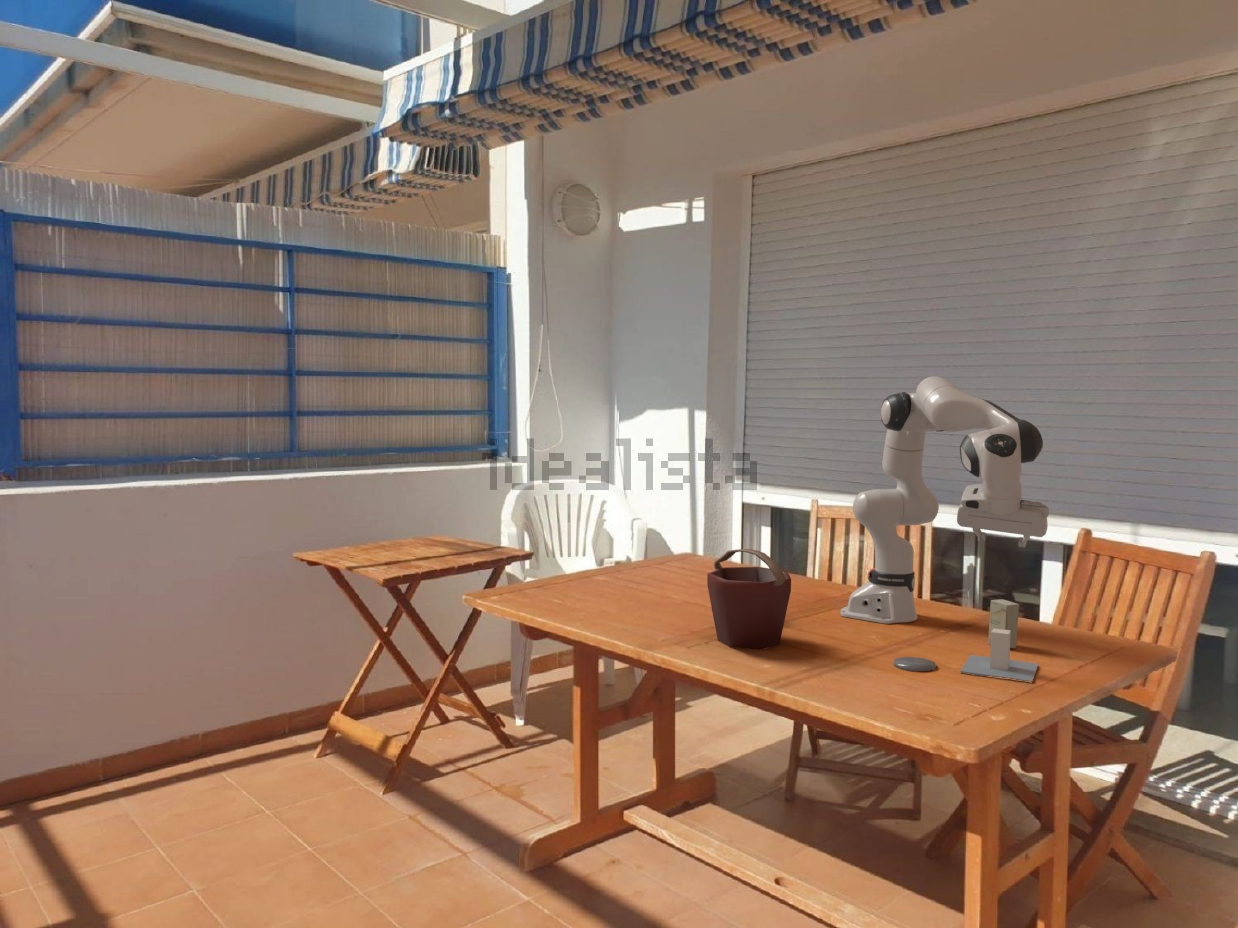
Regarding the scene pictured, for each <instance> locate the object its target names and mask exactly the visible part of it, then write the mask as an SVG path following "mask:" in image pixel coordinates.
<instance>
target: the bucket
mask: <svg viewBox="0 0 1238 928" xmlns="http://www.w3.org/2000/svg"><path fill="white" fill-rule="evenodd" d="M741 552H742V553H747V554H751V555H754V556H755V557H757V558H759V559H760V560H761V561H762V562H763V563H764V564H765V565H766V566H767V567H763V566H739V567H737V566H735V567H733V566H730V567H727V566H726V567H725V566H724V567H723V566H722V565H721V563H723V562H726V561H728V560H729V559H730V558H732V557H733V556H734V555H735V554H736V553H741ZM713 566H714V567H713V568H714V569H715V570H713V571H711V572H708V573H707V575H706V576H707V578H706V579H707V583H706V585H707V591H708V595H709V600H710V602H709V603H710V605H711V612H712V617H713V622H714V628H715V633H716V639H717V641H718V642H719V643H721V644H723V645H724V646H727V647H729V648H732V649H740V648H741V650H752V651H753V650H754V651H761V650H766V649H771V648H775V647H780V644H781V641H782V640H781V639H782V635H783V630H784V627H785V626H784V625H785V620H786V616H787V611H788V606H789V600H790V597H791V591H792V578H791V576H790V573H789V571H786V570H782V569H781V567H780V566H779V564H778V563H777V562H775V560H774V559H772V558H771V557H770V556H769V555H768V554H766V553H765V552H762V551H760V550H757V549H752V548H740V549H730V550H727V551H726V552H724V554H722V555H721V556H720V557H719V558H717V559H716V560H715V561H714V563H713ZM765 648H766V649H765Z"/></svg>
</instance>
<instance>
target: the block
mask: <svg viewBox="0 0 1238 928" xmlns="http://www.w3.org/2000/svg"><path fill="white" fill-rule="evenodd" d="M1010 636H1011V630H1002V629H994V628H993V630H992V631H991V645H990V651H989V652H990V653H989V654H990V655H989V657H990V668H993V669H1000V670H1008V668H1009V664H1010V660H1011V659H1010V658H1011V657H1010V656H1011V649H1010Z"/></svg>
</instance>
